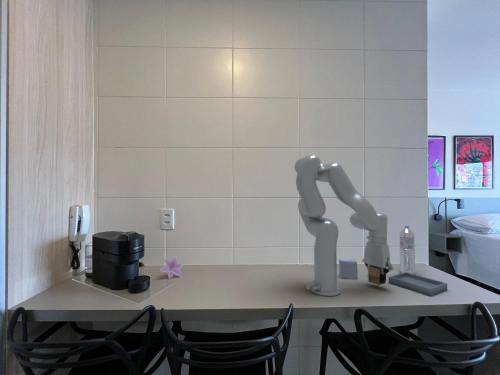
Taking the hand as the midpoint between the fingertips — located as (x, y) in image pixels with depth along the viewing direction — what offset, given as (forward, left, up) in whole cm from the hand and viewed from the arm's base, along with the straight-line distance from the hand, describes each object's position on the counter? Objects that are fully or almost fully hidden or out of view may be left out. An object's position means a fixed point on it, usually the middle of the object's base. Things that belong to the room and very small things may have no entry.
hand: (376, 280), depth 115 cm
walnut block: (0, 0, -1) cm, 1 cm away
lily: (-78, +61, -4) cm, 99 cm away
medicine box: (0, +16, -4) cm, 16 cm away
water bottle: (+33, +5, -3) cm, 33 cm away
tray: (+17, -8, -3) cm, 19 cm away
